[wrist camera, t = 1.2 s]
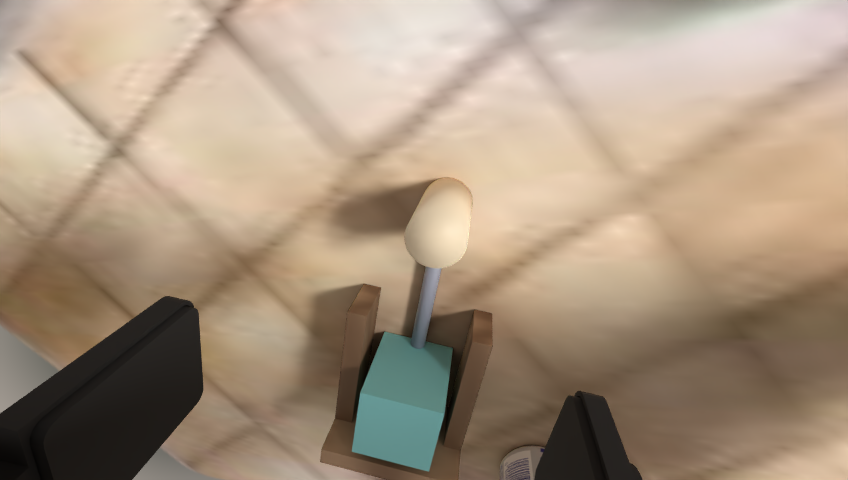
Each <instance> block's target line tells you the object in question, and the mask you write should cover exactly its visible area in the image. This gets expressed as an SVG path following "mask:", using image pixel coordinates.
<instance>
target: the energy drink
mask: <svg viewBox="0 0 848 480" xmlns="http://www.w3.org/2000/svg"><path fill="white" fill-rule="evenodd" d="M544 449H545V447H541V446H523V447H519V448H516V449H514V450H512V451H511V452H510V453H508V454H507V455H506V456H505V457H504V458H503V460H502V462H501V464H500V480H534V479H535V472H536V468H537V466H538V463H539V461H540V459H541V456H542V454H543V452H544Z"/></svg>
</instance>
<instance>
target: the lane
mask: <svg viewBox="0 0 848 480" xmlns="http://www.w3.org/2000/svg"><path fill="white" fill-rule="evenodd" d="M380 290H381V288H380V287H375V286H371V285H367V284H364V285H363V286H362V288H361V290H360V291H359V293H358V295H357V297H356V298H355V300H354V302H353V303H352V305H351V307H350V308H349V310H348V312H347V321H346V329H345V338H344V347H343V355H342V364H341V372H340V381H339V390H338V398H337V407H336V415H335V420H334V422H333V424H332V427H331V429H330V431H329V434H328V436H327V438H326V440H325V443H324V445H323V447H322V450H321V460H320V462H322V463H326V464H330V465H334V466H337V467H341V468H345V469H349V470H353V471H356V472H360V473H364V474H368V475H371V476H375V477H379V478H383V479H386V480H458V477H459V464H460V451H461V447H462V444H463V441H464V438H465V434H466V431H467V428H468V425H469V421H470V418H471V415H472V412H473V408H474V405H475V402H476V398H477V395H478V392H479V389H480V385H481V382H482V379H483V376H484V372H485V369H486V366H487V363H488V359H489V356H490V353H491V350H492V314H491V313H487V312H483V311H478V310H474V313H473V317H472V321H471V324H470V328H469V332H468V335H467V339H466V343H465V346H464V350H463V354H462V357H461V361H460V365H459V368H458V372H457V376H456V380H455V383H454V387H453V391H452V394H451V398H450V402H449V405H448V407H445V414H444V418H443V421H442V425H441V429H440V432H439V436H438V440H437V444H436V447H435V451H434V455H433V458H432V462H431V466H430V470H429V472H428V471H424V470H420V469H416V468H413V467H409V466H405V465H401V464H397V463H394V462H390V461H386V460H382V459H378V458H374V457H371V456H367V455H363V454H359V453H355V452H352V446H353V439H354V433H355V426H356V419H357V412H358V405H359V398H360V392H361V390H362V387H363V385H364V382H365V380H366V377H367V375H368V369H369V362H370V356H371V349H372V343H373V336H374V330H375V323H376V317H377V310H378V303H379V297H380Z"/></svg>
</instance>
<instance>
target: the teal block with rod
mask: <svg viewBox="0 0 848 480" xmlns="http://www.w3.org/2000/svg"><path fill="white" fill-rule="evenodd" d="M472 204H473V200H472V195H471V192H470V190H469V189H468V187H467V186H466V185H465V184H464V183H463V182H461V181H459V180H457V179H454V178H440V179H438V180H436V181H434V182H432V183H431V184H430V185H429V186H428V188H427V189H426V191H425V193H424V195H423V197H422V198H421V200H420V202H419V204H418V206H417V208H416V210H415V212H414V214H413V216H412V217H411V219H410V221H409V223H408V225H407V227H406V230H405V236H404V238H405V245H406V248H407V250H408V252H409V254H410V255H411V256H412V257H413V258H414V259H415V260H416V261H417V262H418V263H420V264H422V265H424V266H426V268H425V273H424V278H423V283H422V288H421V293H420V298H419V303H418V308H417V313H416V318H415V323H414V328H413V333H412V338H410V337H405V336H401V335H397V334H393V333H389V332H384V335H383V337H382V340H381V342H380V345H379V347H378V350H377V352H376V355H375V357H374V360H373V362H372V365H371V367H370V370H369V372H368V375H367V377H366V380H365V382H364V385H363V387H362V390H361V392H360V398H359V405H358V412H357V419H356V426H355V433H354V439H353V446H352V452H355V453H359V454H363V455H367V456H371V457H374V458H378V459H382V460H386V461H390V462H394V463H397V464H401V465H405V466H409V467H413V468H416V469H420V470H424V471H428V472H429V470H430V466H431V462H432V458H433V455H434V451H435V447H436V444H437V440H438V436H439V432H440V429H441V425H442V421H443V418H444V414H445V406H446V398H447V391H448V383H449V375H450V367H451V360H452V352H453V348H451V347H447V346H443V345H439V344H435V343H430V342H426V336H427V332H428V327H429V323H430V318H431V314H432V309H433V305H434V300H435V296H436V291H437V286H438V282H439V277H440V273H441V268H446V267H449V266H451V265H453V264H455V263H457V262H458V261H459V260H460V259H461V258H462V256H463V255H464V253H465V251H466V249H467V244H468V237H469V228H470V220H471V212H472Z"/></svg>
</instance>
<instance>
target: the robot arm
mask: <svg viewBox="0 0 848 480" xmlns="http://www.w3.org/2000/svg"><path fill="white" fill-rule="evenodd" d="M202 393H203V375H202V359H201V344H200V328H199V313H198V310H197V309H195V308H194V306H193V304H192V302H190V301H188V300H183V299H179V298H175V297H170V296H165V297H163V298H161V299H160V300H158V301H157V302H156V303H154V304H153V305H151V306H150V307H149V308H147V309H146V310H144V311H143V312H142V313H140V314H139V315H137V316H136V317H135V318H133V319H132V320H130V321H129V322H128V323H126V324H125V325H124V326H122V327H121V328H119V329H118V330H117V331H115V332H114V333H112V334H111V335H110V336H108V337H107V338H105V339H104V340H103V341H101V342H100V343H98V344H97V345H96V346H94V347H93V348H91V349H90V350H89V351H87V352H86V353H84V354H83V355H82V356H80V357H79V358H77V359H76V360H75V361H73V362H72V363H70V364H69V365H68V366H66V367H65V368H63V369H62V370H61V371H59V372H58V373H56V374H55V375H54V376H52V377H51V378H49V379H48V380H47V381H45V382H44V383H42V384H41V385H40V386H38V387H37V388H35V389H34V390H33V391H31V392H30V393H28V394H27V395H26V396H24V397H23V398H21V399H20V400H19V401H17V402H16V403H14V404H13V405H12V406H10V407H9V408H7V409H6V410H5V411H3V412H2V413H1V414H0V480H132V479H133V478H134V477H135V476H136V475H137V473H138V472H139V471H140V470H141V468H142V467H143V466H144V465H145V464H146V463H147V462H148V460H149V459H150V458H151V457H152V456H153V455H154V453H155V452H156V451H157V450H158V449H159V448H160V446H161V445H162V444H163V443H164V442H165V440H166V439H167V438H168V437H169V436H170V435H171V433H172V432H173V431H174V430H175V429H176V428H177V426H178V425H179V424H180V423H181V422H182V421H183V419H184V418H185V417H186V416H187V415H188V414H189V412H190V411H191V410H192V409H193V408H194V406H195V405H196V404H197V403H198V401H199V400H200V398H201V396H202ZM534 480H642V477H641V475H640V473H639V471H638V469H637V468H636V467H635V466H634V465H633V464H631V463H629V460H628V458H627V455H626V452H625V450H624V447H623V444H622V442H621V439H620V436H619V434H618V431H617V428H616V426H615V423H614V420H613V418H612V415H611V412H610V410H609V407H608V404H607V402H606V400H605V398H604V397H603V396H599V395H594V394H590V393H586V392H581V391H578V392H577V393H576V394H575V395H574V396H571V395H569V396H568V397H567V398H566V400H565V403H564V405H563V407H562V410H561V412H560V414H559V417H558V419H557V421H556V424H555V426H554V428H553V431H552V433H551V435H550V438H549V440H548V442H547V445H546V447H545V449H544V452H543V454H542V456H541V459H540V461H539V463H538V466H537V468H536V472H535V479H534Z"/></svg>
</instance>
